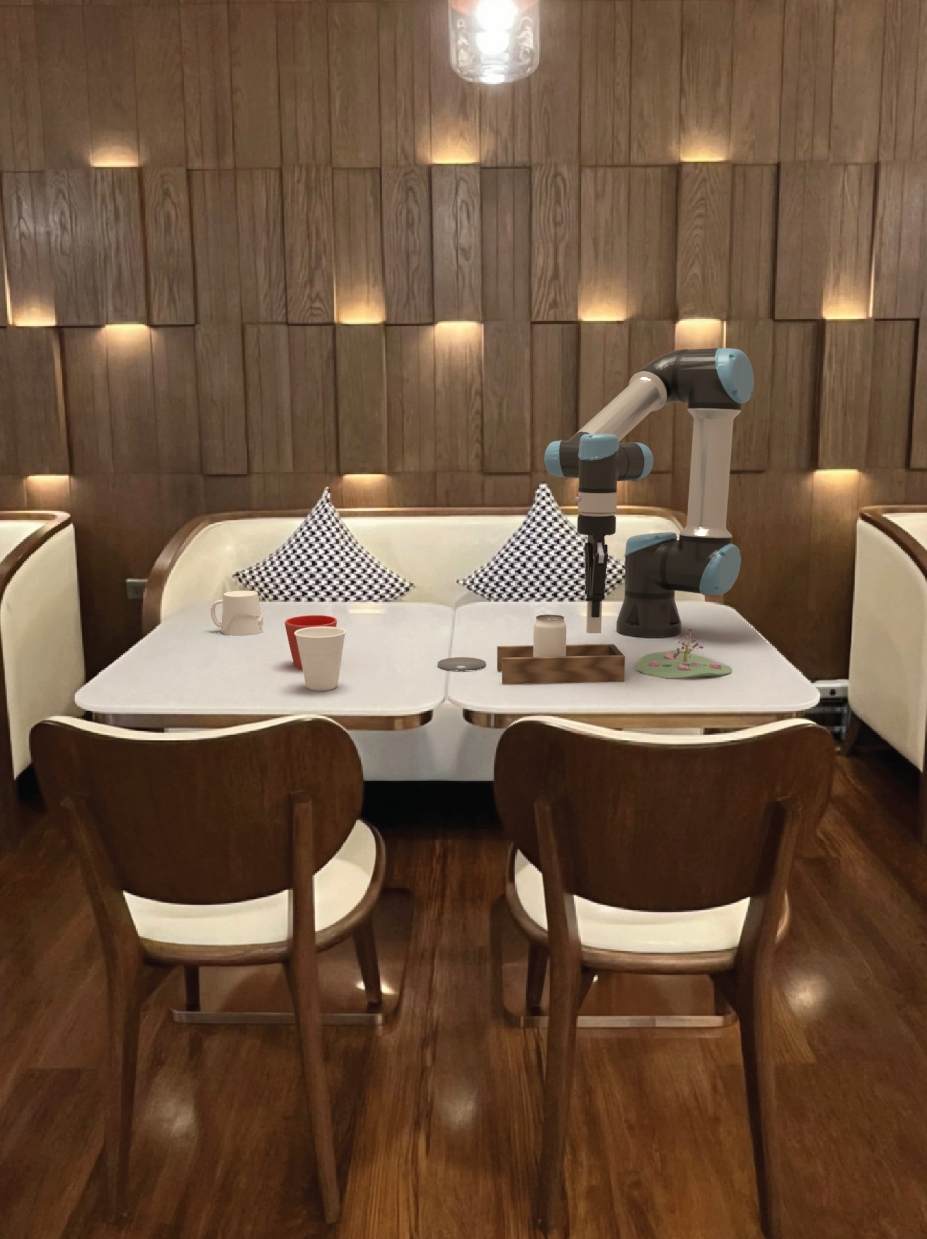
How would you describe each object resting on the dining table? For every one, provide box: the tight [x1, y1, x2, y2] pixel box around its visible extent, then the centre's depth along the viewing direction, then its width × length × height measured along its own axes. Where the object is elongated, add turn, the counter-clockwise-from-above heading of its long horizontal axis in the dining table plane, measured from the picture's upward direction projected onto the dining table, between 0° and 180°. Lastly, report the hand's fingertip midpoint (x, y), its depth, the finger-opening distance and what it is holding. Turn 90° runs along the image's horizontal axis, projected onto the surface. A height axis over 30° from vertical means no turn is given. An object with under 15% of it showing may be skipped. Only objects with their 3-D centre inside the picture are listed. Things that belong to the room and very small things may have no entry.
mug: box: [210, 590, 264, 637], centre depth 272 cm, size 12×9×8 cm
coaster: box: [437, 656, 487, 672], centre depth 239 cm, size 10×10×1 cm
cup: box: [294, 626, 347, 692], centre depth 221 cm, size 10×10×11 cm
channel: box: [496, 643, 626, 685], centre depth 230 cm, size 24×11×5 cm, turn 94°
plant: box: [633, 628, 733, 680], centre depth 238 cm, size 25×21×9 cm
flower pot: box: [284, 614, 338, 670], centre depth 239 cm, size 11×11×10 cm
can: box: [533, 614, 567, 657], centre depth 229 cm, size 6×6×12 cm
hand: (593, 632), depth 229 cm, fingers closed
